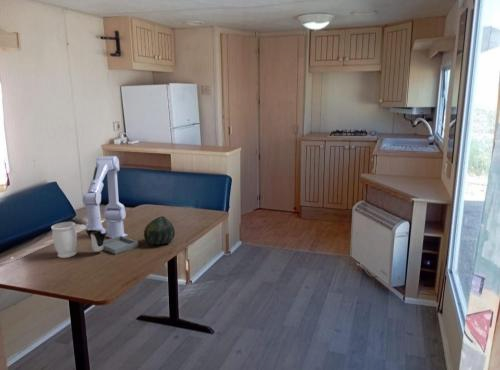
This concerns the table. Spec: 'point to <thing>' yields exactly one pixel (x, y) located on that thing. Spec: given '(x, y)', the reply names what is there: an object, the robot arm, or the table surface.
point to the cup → (95, 243)
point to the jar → (64, 239)
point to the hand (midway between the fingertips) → (97, 244)
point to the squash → (159, 231)
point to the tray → (119, 244)
